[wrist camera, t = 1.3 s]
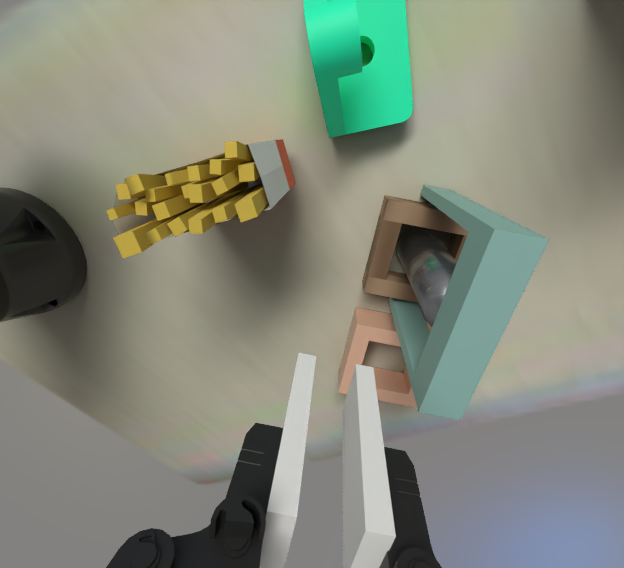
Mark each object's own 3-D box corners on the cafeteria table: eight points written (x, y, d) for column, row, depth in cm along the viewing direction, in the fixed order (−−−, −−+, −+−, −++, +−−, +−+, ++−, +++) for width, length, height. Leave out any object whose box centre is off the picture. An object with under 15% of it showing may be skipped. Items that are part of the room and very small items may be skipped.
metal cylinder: (392, 263, 38) (417, 329, 25) (403, 226, 36) (437, 276, 23) (430, 271, 38) (475, 340, 25) (443, 234, 36) (499, 288, 23)
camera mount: (408, 120, 32) (435, 115, 23) (330, 137, 33) (325, 139, 24) (396, -39, 27) (423, -129, 18) (305, -13, 28) (287, -84, 19)
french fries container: (188, 165, 35) (54, 192, 19) (285, 134, 33) (230, 135, 17) (205, 207, 37) (96, 265, 20) (298, 181, 35) (260, 222, 18)
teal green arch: (388, 301, 39) (418, 412, 24) (423, 185, 34) (494, 229, 18) (413, 305, 39) (460, 420, 24) (452, 190, 34) (549, 239, 18)
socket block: (362, 281, 39) (363, 292, 36) (384, 195, 35) (388, 200, 32) (446, 297, 39) (454, 309, 36) (479, 213, 35) (490, 220, 32)
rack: (338, 371, 44) (338, 392, 41) (355, 307, 40) (356, 324, 37) (412, 385, 44) (418, 408, 41) (436, 322, 40) (446, 341, 37)
